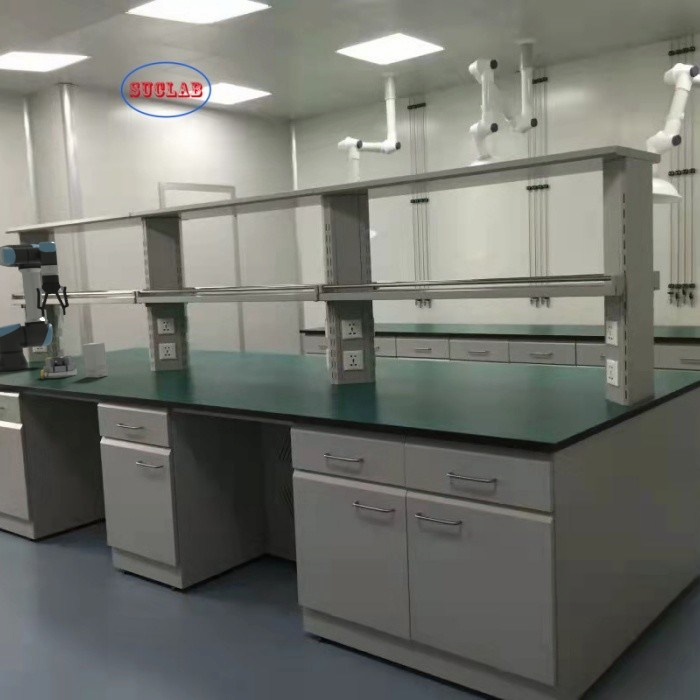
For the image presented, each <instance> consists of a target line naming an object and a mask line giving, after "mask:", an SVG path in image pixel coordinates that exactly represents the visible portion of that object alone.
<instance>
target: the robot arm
mask: <svg viewBox="0 0 700 700" xmlns="http://www.w3.org/2000/svg"><path fill="white" fill-rule="evenodd" d="M57 250H58V249H57V245H56V242H54V241H40V242H38V244H35V243H26V244H5V245H2V246H0V266H1V267H8V268H17V269H18V272H19V273H21V276H22V277H21V278H22V283H23V284H22V285H23V286H22V287H23V293H24V303H25V310H26V320H25V321H24V325H21V323H12V324H6V325H2V326H0V372H11V371H21V370H26V369H28V368H29V362H28V361H27V358H26V355H25V353H24V349H26V348H37V347H38V348H39V347H41V348H42V347H46V346H49V345H51V343H52V341H53V325H52V323H49V320H48V318H47V317H48V316H47V309H45V308H46V304H47V301H48V297H49V295H55V297H56V298H57V301H58V303H59V305H60V306H61V308H60V319H61V320H60V321H61V323H65V318H64V316H66V313H67V312H66V308H69V307H70V303H69V300H68V295H67V289H68V288H67V286H63V285H61V284H60V276H59V268H58V267H59V266H58V255H57ZM40 273H41V275H40ZM41 281H42V283H41ZM60 290H61V291H62V295H63V300H64V302H63V300H62V298H61V296H60V293H59V291H60ZM42 291H43V292H44V297H43V292H42ZM42 301H43V302H42Z"/></svg>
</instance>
